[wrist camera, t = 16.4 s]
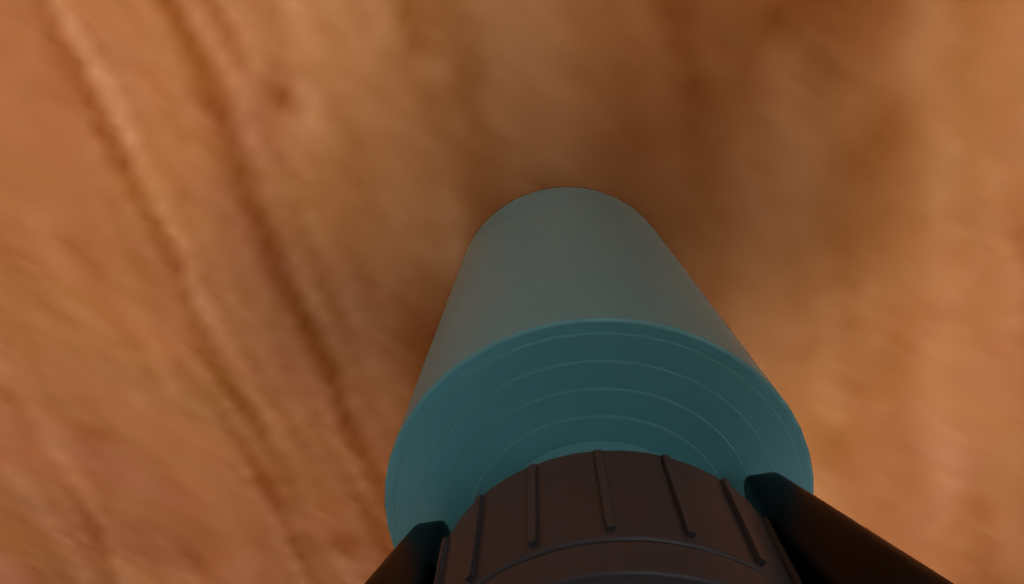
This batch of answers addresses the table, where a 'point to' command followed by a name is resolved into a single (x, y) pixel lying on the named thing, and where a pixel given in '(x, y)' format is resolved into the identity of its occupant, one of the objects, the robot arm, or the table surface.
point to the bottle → (579, 364)
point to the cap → (613, 527)
